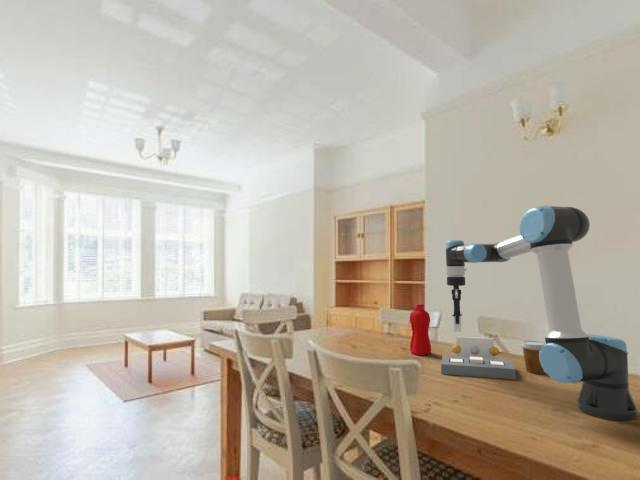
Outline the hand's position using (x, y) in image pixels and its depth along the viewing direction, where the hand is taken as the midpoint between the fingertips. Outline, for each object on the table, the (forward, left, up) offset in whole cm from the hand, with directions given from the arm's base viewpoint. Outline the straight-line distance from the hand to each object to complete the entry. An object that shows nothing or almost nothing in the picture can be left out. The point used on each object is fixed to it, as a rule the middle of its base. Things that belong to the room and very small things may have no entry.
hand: (457, 331), depth 173 cm
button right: (+1, -15, -15) cm, 22 cm away
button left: (+1, +1, -15) cm, 15 cm away
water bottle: (+27, +19, -17) cm, 37 cm away
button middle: (+1, -7, -14) cm, 16 cm away
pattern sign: (+17, -7, -17) cm, 25 cm away
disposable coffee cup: (+7, -30, -17) cm, 35 cm away
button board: (+1, -7, -17) cm, 18 cm away
